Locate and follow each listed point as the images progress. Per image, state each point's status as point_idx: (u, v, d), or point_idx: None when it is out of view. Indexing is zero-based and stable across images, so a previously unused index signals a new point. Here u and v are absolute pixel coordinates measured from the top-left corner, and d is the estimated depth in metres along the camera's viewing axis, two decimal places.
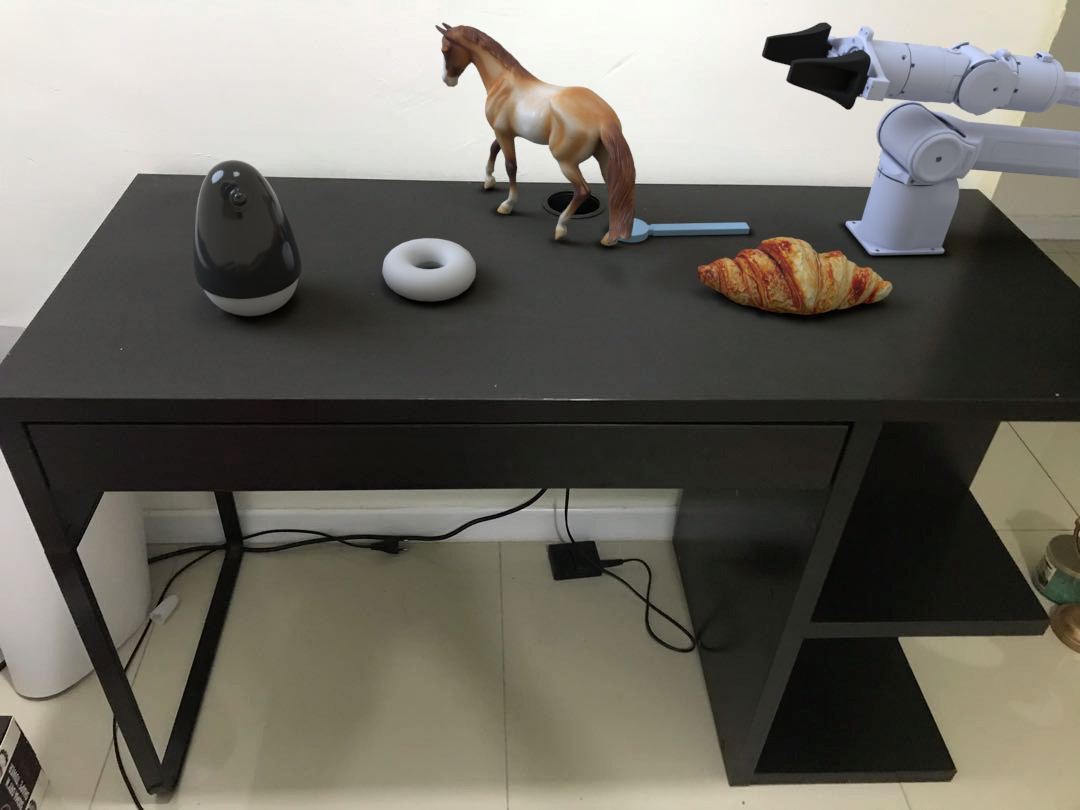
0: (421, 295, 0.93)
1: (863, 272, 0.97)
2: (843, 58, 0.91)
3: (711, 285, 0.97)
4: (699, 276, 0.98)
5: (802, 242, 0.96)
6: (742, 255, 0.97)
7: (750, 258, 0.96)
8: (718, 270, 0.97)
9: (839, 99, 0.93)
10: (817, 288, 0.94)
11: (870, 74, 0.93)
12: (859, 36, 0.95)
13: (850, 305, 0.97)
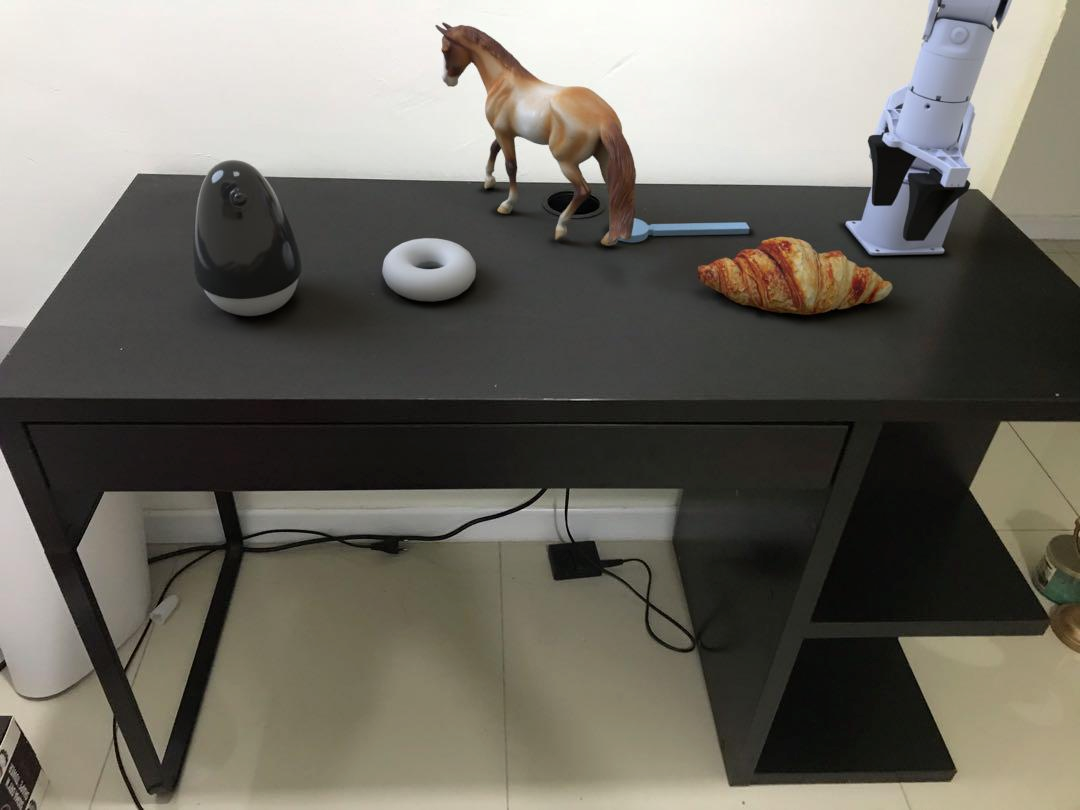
0: (421, 295, 0.93)
1: (863, 272, 0.97)
2: (913, 198, 0.88)
3: (711, 285, 0.97)
4: (699, 276, 0.98)
5: (802, 242, 0.96)
6: (742, 255, 0.97)
7: (750, 258, 0.96)
8: (718, 270, 0.97)
9: (955, 197, 0.87)
10: (817, 288, 0.94)
11: None
12: None
13: (850, 305, 0.97)
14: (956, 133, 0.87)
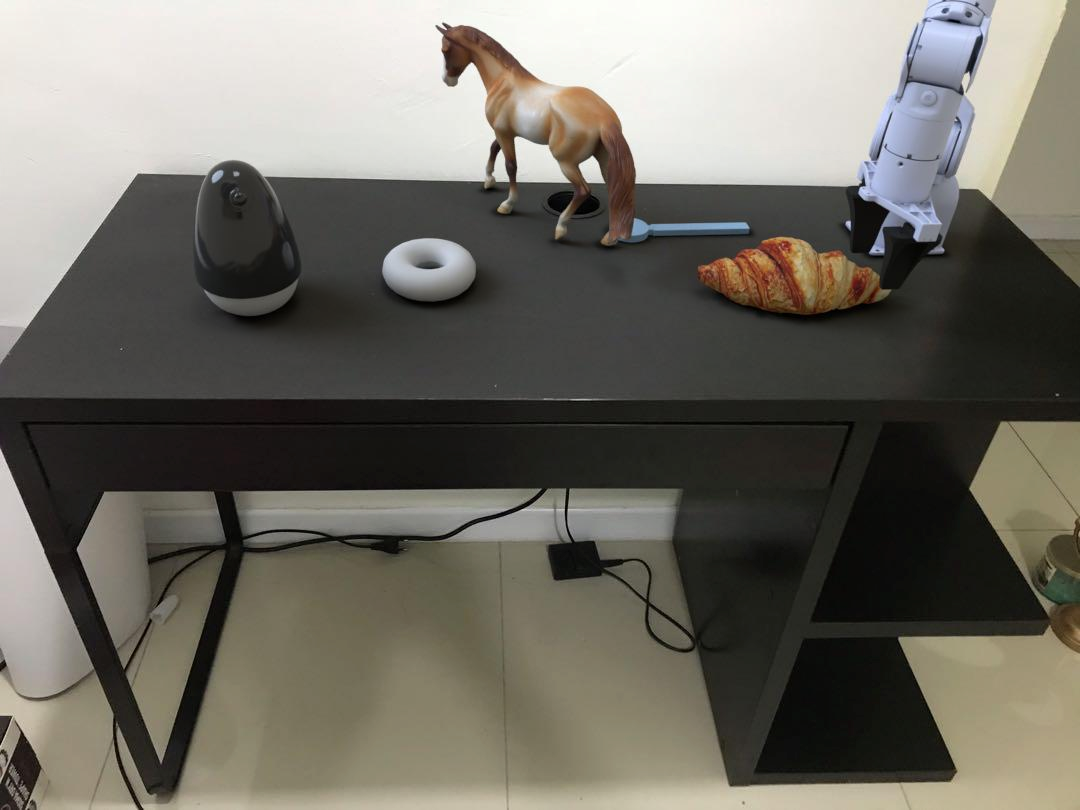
0: (421, 295, 0.93)
1: (863, 272, 0.97)
2: (887, 250, 0.91)
3: (711, 285, 0.97)
4: (699, 276, 0.98)
5: (802, 242, 0.96)
6: (742, 255, 0.97)
7: (750, 258, 0.96)
8: (718, 270, 0.97)
9: (928, 250, 0.91)
10: (817, 288, 0.94)
11: None
12: None
13: (850, 305, 0.97)
14: (929, 188, 0.90)
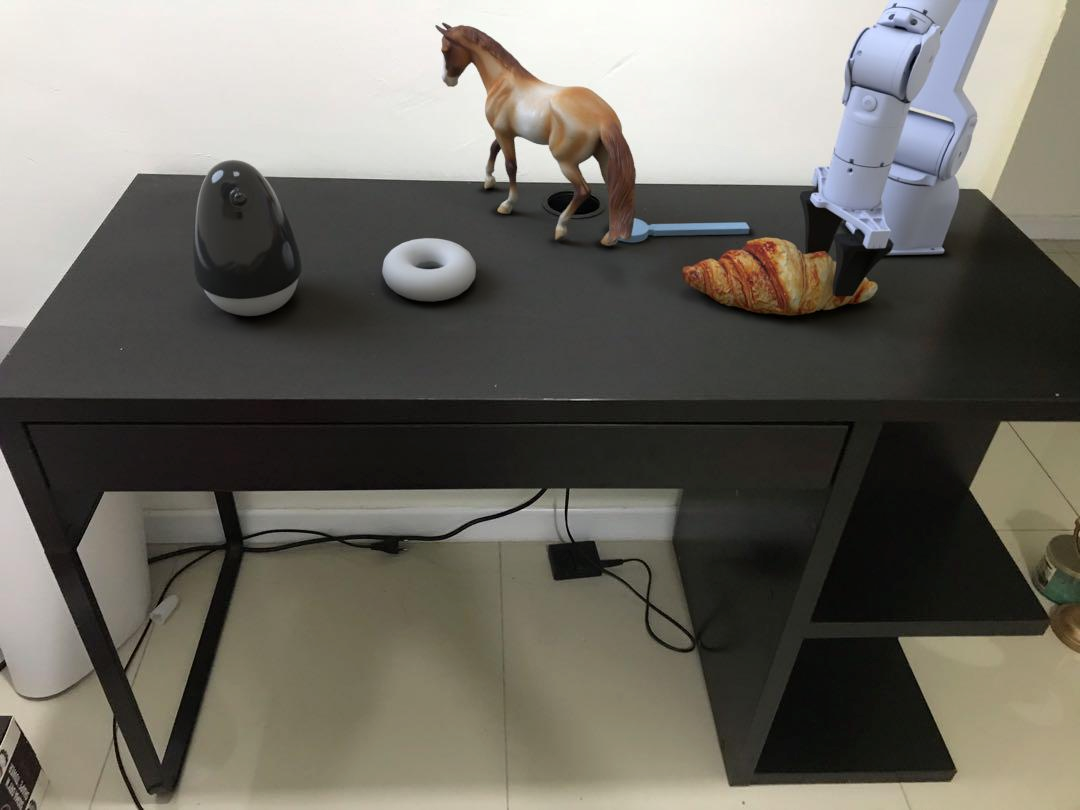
0: (421, 295, 0.93)
1: None
2: (839, 257, 0.91)
3: (696, 286, 0.97)
4: (684, 277, 0.97)
5: (787, 243, 0.96)
6: (727, 256, 0.97)
7: (735, 259, 0.96)
8: (702, 271, 0.96)
9: (880, 257, 0.90)
10: (802, 289, 0.94)
11: None
12: None
13: (835, 306, 0.97)
14: (879, 195, 0.90)
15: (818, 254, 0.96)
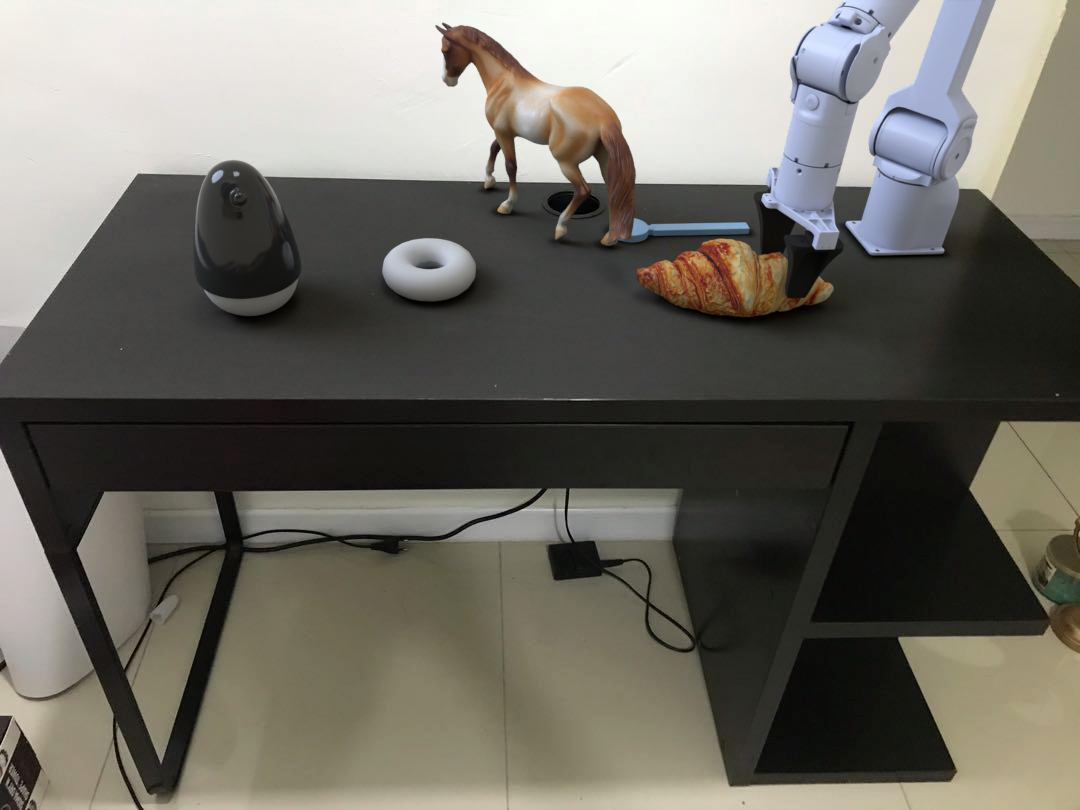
0: (421, 295, 0.93)
1: None
2: (790, 258, 0.90)
3: (650, 288, 0.96)
4: (638, 279, 0.96)
5: (741, 244, 0.95)
6: (682, 257, 0.96)
7: (689, 260, 0.95)
8: (656, 273, 0.96)
9: (831, 258, 0.90)
10: (756, 290, 0.93)
11: None
12: None
13: (791, 307, 0.96)
14: (830, 196, 0.89)
15: (773, 255, 0.96)
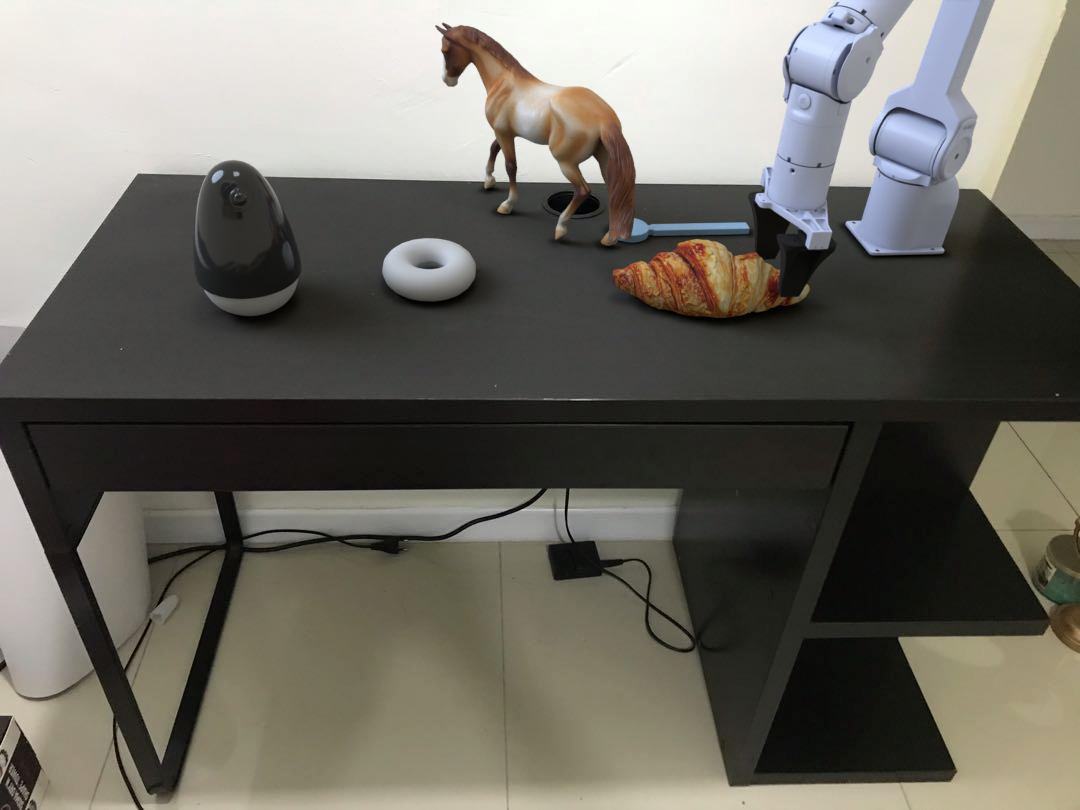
0: (421, 295, 0.93)
1: (779, 274, 0.95)
2: (783, 257, 0.90)
3: (626, 289, 0.96)
4: (614, 280, 0.96)
5: (717, 244, 0.95)
6: (657, 258, 0.96)
7: (665, 261, 0.95)
8: (632, 274, 0.95)
9: (823, 257, 0.90)
10: (731, 291, 0.93)
11: None
12: None
13: (767, 308, 0.96)
14: (823, 195, 0.89)
15: (749, 256, 0.95)
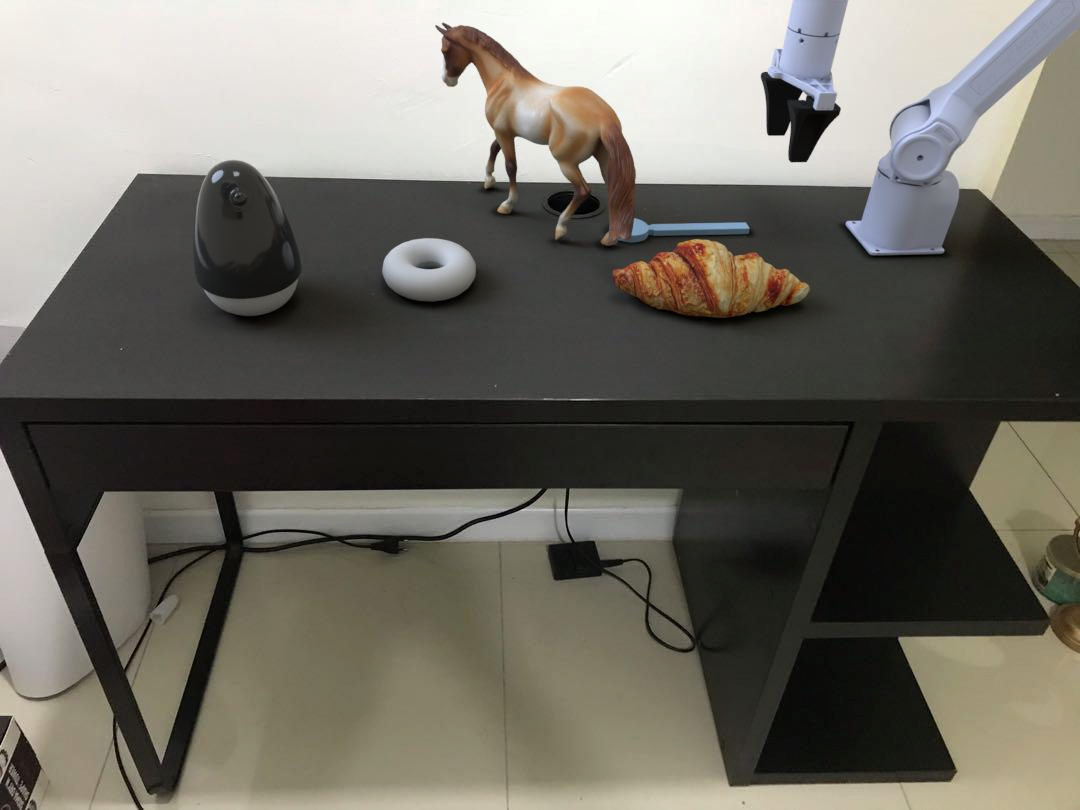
0: (421, 295, 0.93)
1: (779, 274, 0.95)
2: (792, 122, 1.01)
3: (626, 289, 0.96)
4: (614, 280, 0.96)
5: (717, 244, 0.95)
6: (657, 258, 0.96)
7: (665, 261, 0.95)
8: (632, 274, 0.95)
9: (829, 121, 1.01)
10: (731, 291, 0.93)
11: None
12: None
13: (767, 307, 0.96)
14: (828, 65, 1.00)
15: (749, 255, 0.95)
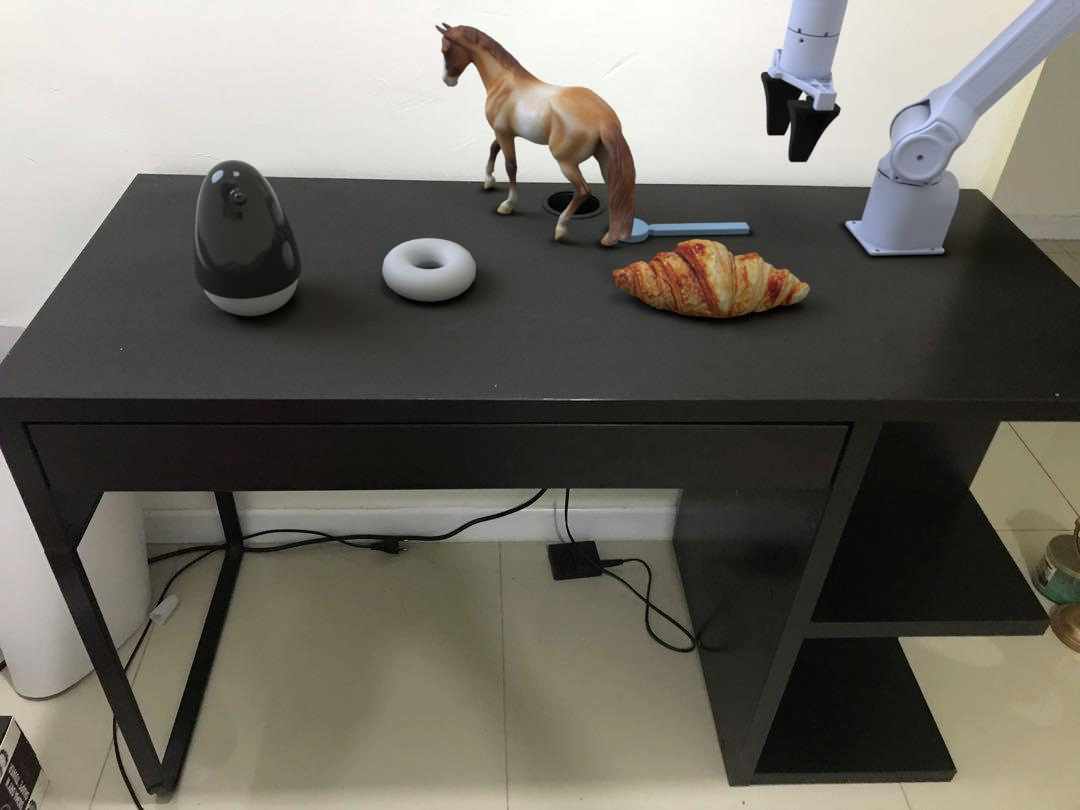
0: (421, 295, 0.93)
1: (779, 274, 0.95)
2: (792, 122, 1.01)
3: (626, 289, 0.96)
4: (614, 280, 0.96)
5: (717, 244, 0.95)
6: (657, 258, 0.96)
7: (665, 261, 0.95)
8: (632, 274, 0.95)
9: (829, 121, 1.01)
10: (731, 291, 0.93)
11: None
12: None
13: (767, 307, 0.96)
14: (828, 65, 1.00)
15: (749, 256, 0.95)
